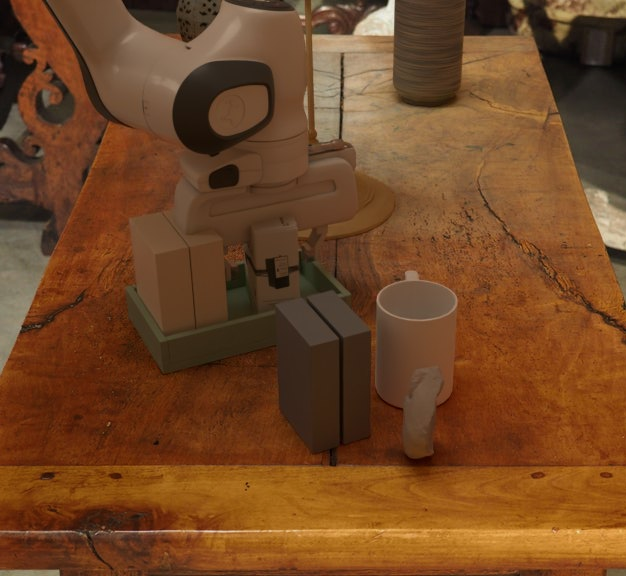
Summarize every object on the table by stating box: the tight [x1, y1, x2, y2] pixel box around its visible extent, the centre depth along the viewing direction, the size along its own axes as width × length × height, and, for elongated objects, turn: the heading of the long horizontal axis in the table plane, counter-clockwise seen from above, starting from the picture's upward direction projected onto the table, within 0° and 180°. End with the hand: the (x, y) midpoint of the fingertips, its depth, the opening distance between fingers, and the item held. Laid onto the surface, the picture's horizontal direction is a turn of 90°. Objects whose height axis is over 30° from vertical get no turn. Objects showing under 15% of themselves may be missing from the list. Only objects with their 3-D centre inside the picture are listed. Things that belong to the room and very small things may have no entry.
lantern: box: [175, 0, 223, 43], centre depth 184 cm, size 14×14×25 cm
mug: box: [374, 270, 459, 409], centre depth 108 cm, size 12×8×10 cm, turn 3°
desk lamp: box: [298, 0, 396, 241], centre depth 136 cm, size 31×23×40 cm
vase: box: [392, 0, 467, 107], centre depth 178 cm, size 12×12×23 cm
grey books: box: [275, 290, 372, 455], centre depth 101 cm, size 6×8×12 cm
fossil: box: [401, 366, 444, 460], centre depth 97 cm, size 6×4×10 cm, turn 167°
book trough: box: [124, 247, 352, 375], centre depth 118 cm, size 22×13×4 cm, turn 118°
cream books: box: [128, 208, 228, 337], centre depth 113 cm, size 7×9×12 cm
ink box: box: [243, 214, 300, 314], centre depth 118 cm, size 9×5×12 cm, turn 16°
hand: (270, 268), depth 118 cm, fingers open, 8 cm apart
